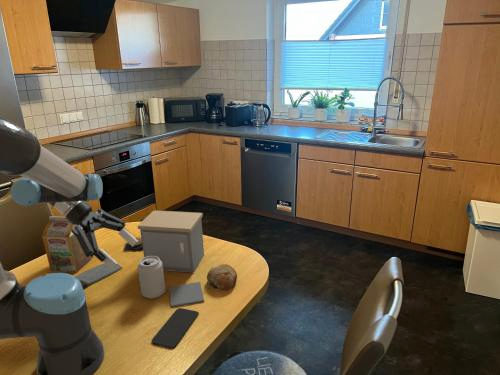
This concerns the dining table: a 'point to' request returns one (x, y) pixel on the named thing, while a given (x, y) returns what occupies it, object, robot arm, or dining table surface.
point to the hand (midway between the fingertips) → (125, 254)
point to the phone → (175, 328)
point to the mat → (186, 294)
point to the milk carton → (63, 246)
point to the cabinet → (173, 239)
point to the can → (151, 277)
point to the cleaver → (96, 274)
